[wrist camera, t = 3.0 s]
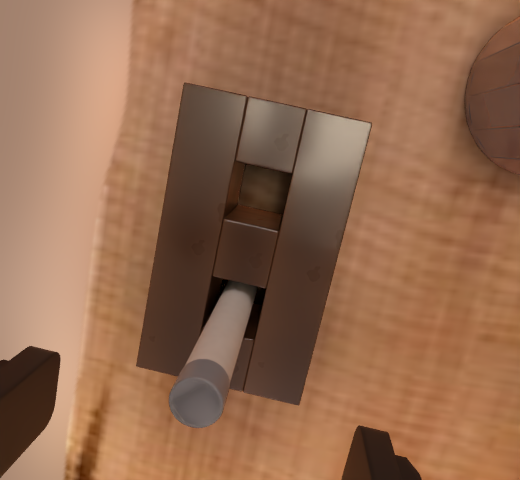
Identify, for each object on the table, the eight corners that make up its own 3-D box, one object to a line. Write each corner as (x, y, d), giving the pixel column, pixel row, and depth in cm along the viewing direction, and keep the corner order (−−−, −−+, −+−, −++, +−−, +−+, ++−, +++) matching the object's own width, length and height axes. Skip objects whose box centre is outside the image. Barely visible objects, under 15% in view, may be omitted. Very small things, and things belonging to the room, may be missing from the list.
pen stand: (163, 328, 26) (135, 366, 21) (206, 93, 23) (183, 82, 18) (299, 360, 25) (299, 406, 21) (358, 126, 23) (372, 122, 18)
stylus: (228, 289, 25) (163, 421, 13) (233, 261, 25) (173, 372, 13) (256, 296, 25) (217, 434, 13) (262, 268, 24) (228, 385, 13)
